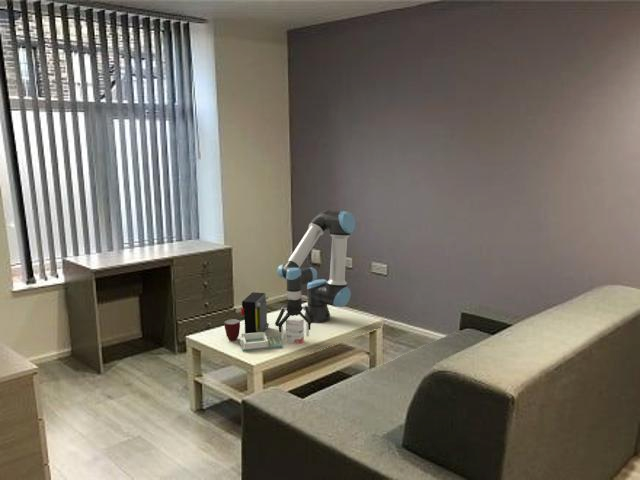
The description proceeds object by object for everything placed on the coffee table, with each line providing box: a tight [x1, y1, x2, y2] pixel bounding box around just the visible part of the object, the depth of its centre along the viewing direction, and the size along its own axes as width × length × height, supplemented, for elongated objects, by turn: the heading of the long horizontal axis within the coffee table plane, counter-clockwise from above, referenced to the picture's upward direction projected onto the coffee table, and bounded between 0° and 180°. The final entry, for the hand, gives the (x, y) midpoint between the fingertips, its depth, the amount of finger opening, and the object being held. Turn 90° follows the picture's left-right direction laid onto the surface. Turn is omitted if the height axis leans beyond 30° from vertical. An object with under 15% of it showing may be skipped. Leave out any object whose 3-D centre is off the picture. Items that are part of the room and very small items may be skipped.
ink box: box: [285, 317, 305, 345], centre depth 277 cm, size 9×5×12 cm, turn 71°
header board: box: [239, 331, 283, 353], centre depth 274 cm, size 20×14×4 cm
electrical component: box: [240, 291, 270, 334], centre depth 290 cm, size 18×10×20 cm, turn 168°
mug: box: [224, 318, 241, 342], centre depth 281 cm, size 11×8×10 cm
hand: (294, 337), depth 278 cm, fingers open, 13 cm apart
